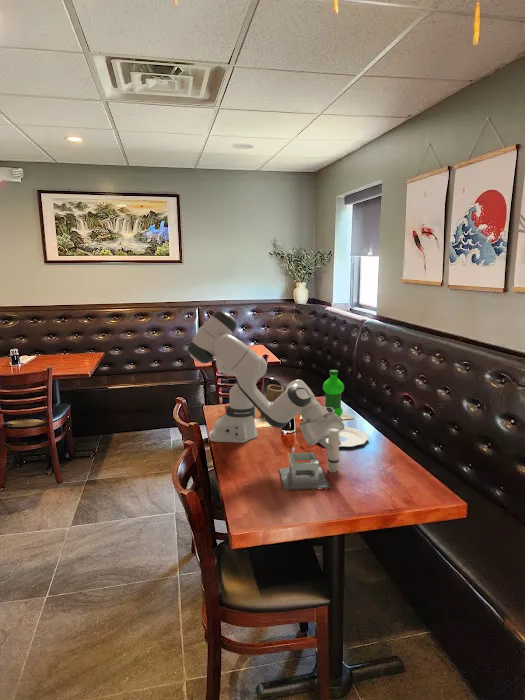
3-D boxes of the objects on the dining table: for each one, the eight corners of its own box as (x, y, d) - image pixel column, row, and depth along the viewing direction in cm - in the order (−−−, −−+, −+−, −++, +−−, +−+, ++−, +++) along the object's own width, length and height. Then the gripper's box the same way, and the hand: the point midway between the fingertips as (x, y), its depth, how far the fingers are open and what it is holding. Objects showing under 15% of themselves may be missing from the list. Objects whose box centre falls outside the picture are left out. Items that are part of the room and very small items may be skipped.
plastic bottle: (330, 413, 236) (331, 367, 231) (346, 418, 228) (348, 370, 224) (318, 417, 229) (319, 370, 225) (334, 422, 222) (335, 374, 217)
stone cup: (285, 416, 231) (285, 388, 229) (262, 417, 231) (262, 389, 228) (282, 407, 246) (282, 381, 244) (260, 408, 246) (260, 382, 243)
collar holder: (284, 490, 154) (284, 468, 153) (279, 470, 170) (279, 449, 169) (329, 489, 155) (330, 466, 154) (320, 468, 171) (321, 448, 170)
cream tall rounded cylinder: (328, 472, 168) (329, 432, 165) (326, 467, 172) (327, 428, 169) (339, 472, 168) (340, 432, 165) (337, 467, 172) (338, 428, 169)
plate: (333, 454, 184) (334, 450, 184) (301, 435, 206) (301, 431, 206) (380, 443, 196) (380, 439, 195) (344, 426, 218) (344, 422, 217)
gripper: (302, 419, 164) (322, 451, 159) (335, 406, 178) (355, 436, 173) (292, 427, 168) (312, 459, 163) (326, 414, 182) (345, 443, 177)
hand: (334, 447), depth 168 cm, fingers closed on cream tall rounded cylinder, 4 cm apart
